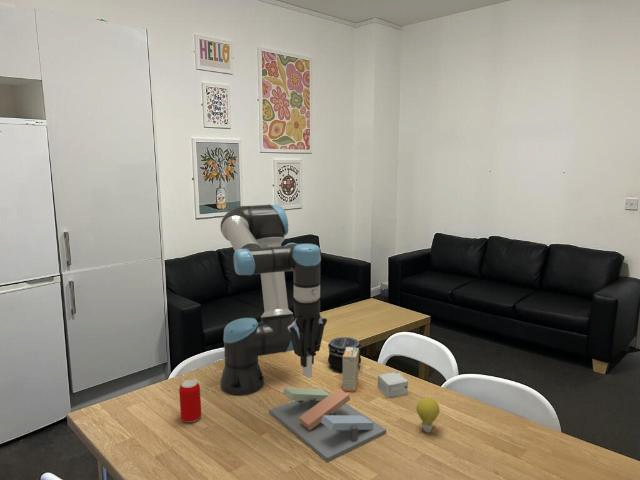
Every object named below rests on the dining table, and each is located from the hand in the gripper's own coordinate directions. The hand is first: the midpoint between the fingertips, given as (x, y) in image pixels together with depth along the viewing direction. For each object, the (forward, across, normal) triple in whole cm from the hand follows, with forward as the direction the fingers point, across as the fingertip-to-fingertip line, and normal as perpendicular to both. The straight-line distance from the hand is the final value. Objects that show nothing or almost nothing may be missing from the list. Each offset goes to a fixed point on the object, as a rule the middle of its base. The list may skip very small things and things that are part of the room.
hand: (307, 375), depth 140 cm
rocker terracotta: (+13, +6, -1) cm, 14 cm away
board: (+17, +6, -1) cm, 18 cm away
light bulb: (+17, +28, -22) cm, 40 cm away
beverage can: (+18, -26, +26) cm, 41 cm away
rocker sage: (+13, +6, +9) cm, 17 cm away
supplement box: (+18, +27, +12) cm, 34 cm away
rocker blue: (+13, +6, -11) cm, 18 cm away
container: (+18, +35, +26) cm, 47 cm away
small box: (+18, +36, +1) cm, 40 cm away
